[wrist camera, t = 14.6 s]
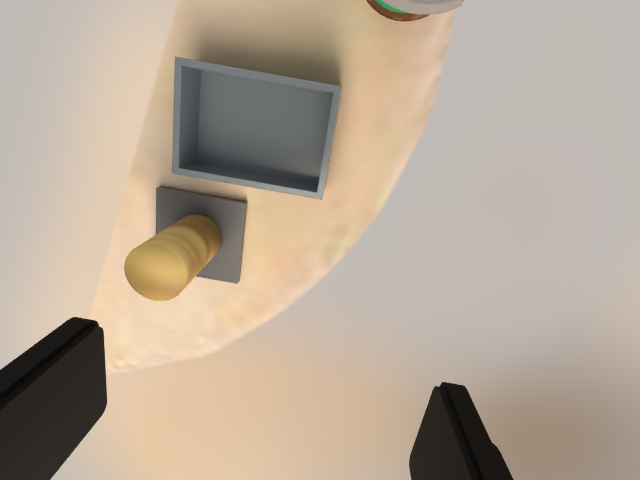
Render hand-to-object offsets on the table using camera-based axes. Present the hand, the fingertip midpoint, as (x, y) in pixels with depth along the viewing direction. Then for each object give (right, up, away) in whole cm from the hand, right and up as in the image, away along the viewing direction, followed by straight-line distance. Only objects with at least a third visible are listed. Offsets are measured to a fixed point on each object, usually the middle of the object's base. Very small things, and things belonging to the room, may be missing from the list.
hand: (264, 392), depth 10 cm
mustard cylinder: (-12, +5, +30) cm, 33 cm away
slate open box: (-4, +16, +27) cm, 31 cm away
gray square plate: (-12, +5, +31) cm, 34 cm away
